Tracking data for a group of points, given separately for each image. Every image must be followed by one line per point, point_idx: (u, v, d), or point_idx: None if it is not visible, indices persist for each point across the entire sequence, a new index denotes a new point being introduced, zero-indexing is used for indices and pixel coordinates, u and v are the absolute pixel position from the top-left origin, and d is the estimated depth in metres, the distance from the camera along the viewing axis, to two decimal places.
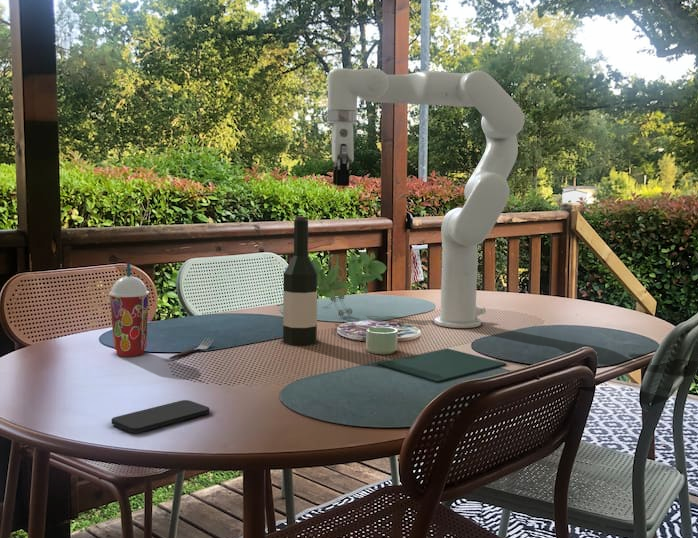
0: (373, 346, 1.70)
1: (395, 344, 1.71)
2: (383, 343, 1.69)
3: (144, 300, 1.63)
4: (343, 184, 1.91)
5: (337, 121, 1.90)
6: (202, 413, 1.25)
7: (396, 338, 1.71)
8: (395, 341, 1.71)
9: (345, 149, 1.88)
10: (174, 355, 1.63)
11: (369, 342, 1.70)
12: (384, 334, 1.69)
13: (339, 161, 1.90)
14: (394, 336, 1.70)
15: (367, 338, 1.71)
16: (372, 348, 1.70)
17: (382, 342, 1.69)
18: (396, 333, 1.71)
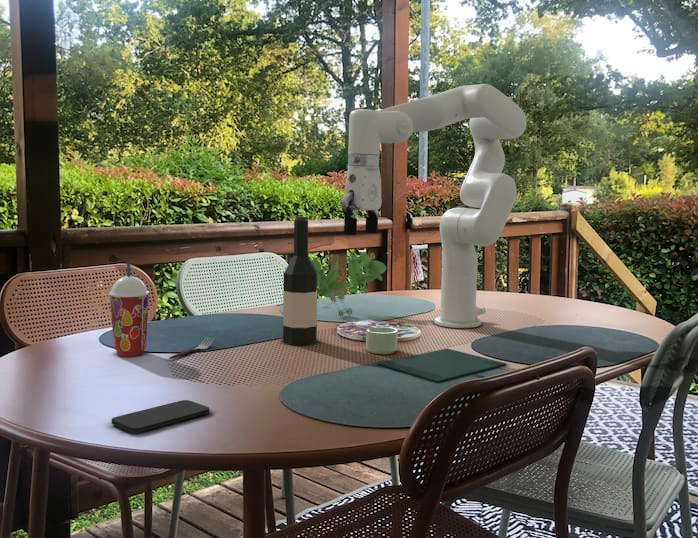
0: (373, 346, 1.70)
1: (395, 344, 1.71)
2: (383, 343, 1.69)
3: (144, 300, 1.63)
4: (350, 233, 1.77)
5: (350, 166, 1.78)
6: (202, 413, 1.25)
7: (396, 338, 1.71)
8: (395, 341, 1.71)
9: (347, 196, 1.74)
10: (174, 355, 1.63)
11: (369, 342, 1.70)
12: (384, 334, 1.69)
13: None
14: (394, 336, 1.70)
15: (367, 338, 1.71)
16: (372, 348, 1.70)
17: (382, 342, 1.69)
18: (396, 333, 1.71)
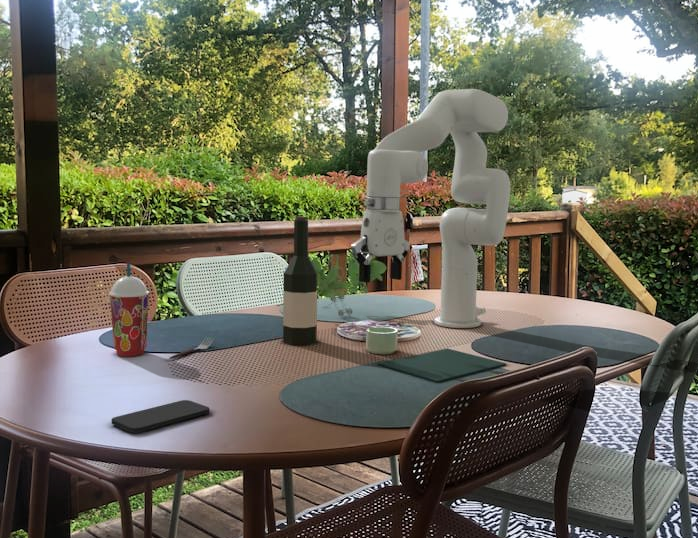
0: (373, 346, 1.70)
1: (395, 344, 1.71)
2: (383, 343, 1.69)
3: (144, 300, 1.63)
4: (364, 280, 1.68)
5: (366, 209, 1.68)
6: (202, 413, 1.25)
7: (396, 338, 1.71)
8: (395, 341, 1.71)
9: (358, 241, 1.65)
10: (174, 355, 1.63)
11: (369, 342, 1.70)
12: (384, 334, 1.69)
13: (361, 254, 1.68)
14: (394, 336, 1.70)
15: (367, 338, 1.71)
16: (372, 348, 1.70)
17: (382, 342, 1.69)
18: (396, 333, 1.71)
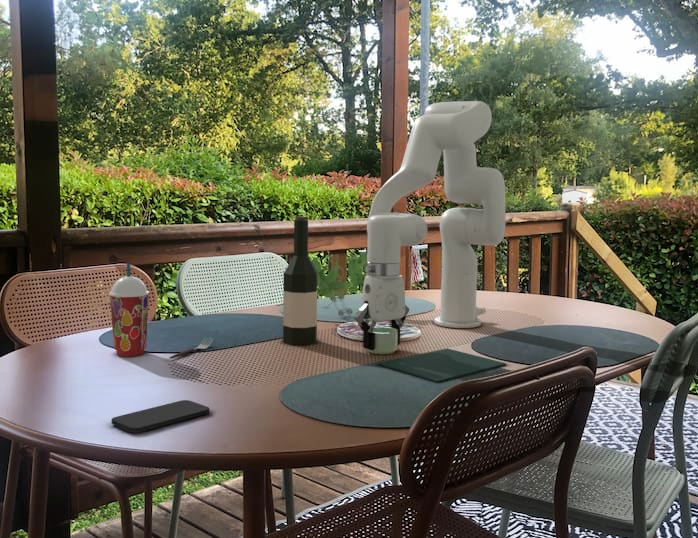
0: None
1: (395, 344, 1.71)
2: (383, 343, 1.69)
3: (144, 300, 1.63)
4: (368, 347, 1.70)
5: (367, 274, 1.69)
6: (202, 413, 1.25)
7: (396, 338, 1.71)
8: (395, 341, 1.71)
9: (360, 311, 1.67)
10: (174, 355, 1.63)
11: None
12: (384, 334, 1.69)
13: (364, 321, 1.70)
14: (394, 336, 1.70)
15: None
16: None
17: (382, 342, 1.69)
18: (396, 333, 1.71)
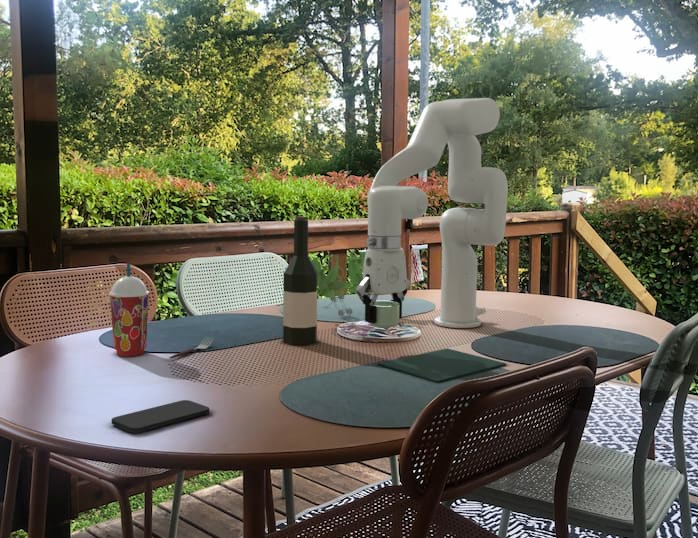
0: None
1: (397, 317, 1.70)
2: (385, 316, 1.68)
3: (144, 300, 1.63)
4: (370, 321, 1.69)
5: (368, 248, 1.69)
6: (202, 413, 1.25)
7: (398, 311, 1.70)
8: (397, 314, 1.70)
9: (362, 284, 1.66)
10: (174, 355, 1.63)
11: None
12: (386, 308, 1.68)
13: (366, 295, 1.69)
14: (396, 309, 1.70)
15: None
16: None
17: (384, 315, 1.68)
18: (398, 306, 1.70)
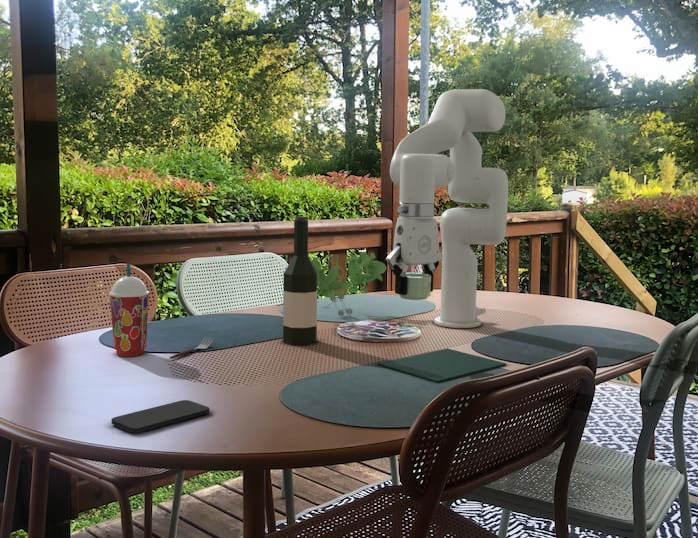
0: None
1: (428, 289, 1.63)
2: (416, 287, 1.61)
3: (144, 300, 1.63)
4: (400, 292, 1.62)
5: (400, 216, 1.62)
6: (202, 413, 1.25)
7: (429, 283, 1.63)
8: (428, 286, 1.63)
9: (393, 253, 1.59)
10: (174, 355, 1.63)
11: None
12: (417, 279, 1.61)
13: None
14: (427, 281, 1.62)
15: None
16: None
17: (415, 287, 1.61)
18: (429, 278, 1.63)
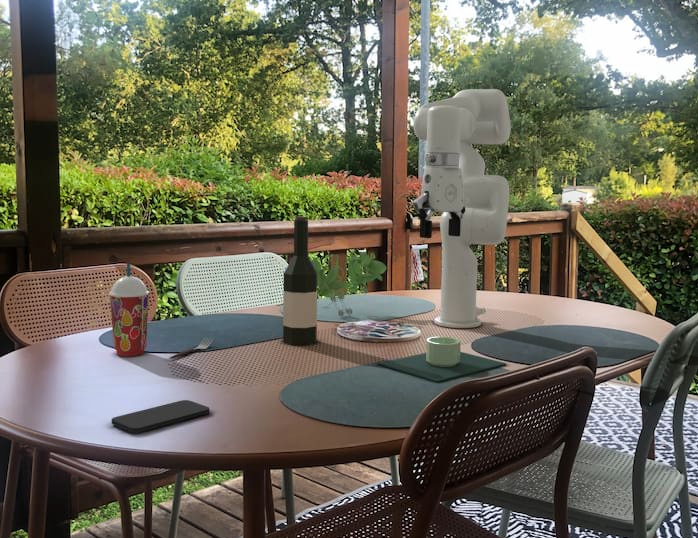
0: (435, 358, 1.58)
1: (458, 356, 1.59)
2: (446, 355, 1.58)
3: (144, 300, 1.63)
4: (425, 236, 1.69)
5: (427, 165, 1.69)
6: (202, 413, 1.25)
7: (459, 349, 1.60)
8: (458, 353, 1.59)
9: (420, 197, 1.67)
10: (174, 355, 1.63)
11: (430, 354, 1.59)
12: (447, 346, 1.57)
13: None
14: (457, 347, 1.59)
15: (428, 349, 1.60)
16: (434, 360, 1.58)
17: (445, 354, 1.58)
18: (459, 344, 1.59)
